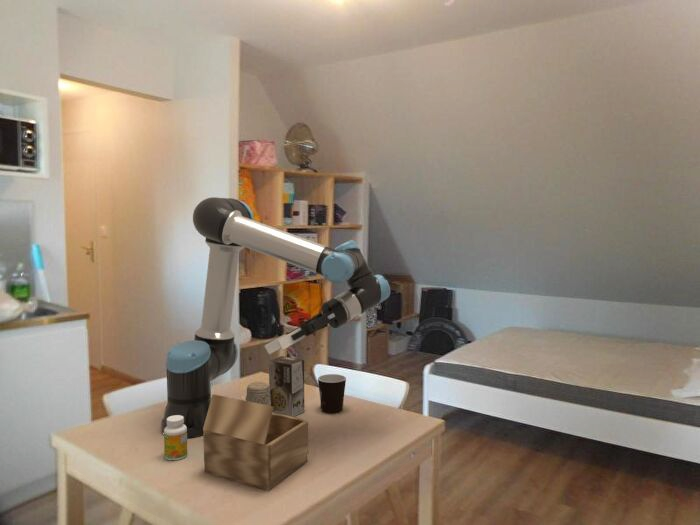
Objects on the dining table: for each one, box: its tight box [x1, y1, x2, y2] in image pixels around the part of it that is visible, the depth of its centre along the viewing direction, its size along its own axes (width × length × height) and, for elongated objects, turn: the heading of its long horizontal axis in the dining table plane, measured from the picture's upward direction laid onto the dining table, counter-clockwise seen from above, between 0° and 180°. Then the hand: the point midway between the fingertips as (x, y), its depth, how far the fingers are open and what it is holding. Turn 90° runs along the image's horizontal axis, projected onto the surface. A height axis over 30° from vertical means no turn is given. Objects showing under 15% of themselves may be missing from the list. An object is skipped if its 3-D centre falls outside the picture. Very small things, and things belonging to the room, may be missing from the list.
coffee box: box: [268, 355, 305, 417], centre depth 160 cm, size 9×6×16 cm
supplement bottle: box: [163, 415, 188, 461], centre depth 130 cm, size 5×5×10 cm
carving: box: [245, 381, 271, 406], centre depth 150 cm, size 6×8×12 cm
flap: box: [203, 393, 274, 445], centre depth 118 cm, size 17×8×1 cm
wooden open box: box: [202, 412, 309, 492], centre depth 125 cm, size 19×17×10 cm
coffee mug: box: [317, 373, 347, 415], centre depth 164 cm, size 12×9×10 cm
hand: (272, 347), depth 134 cm, fingers open, 13 cm apart
